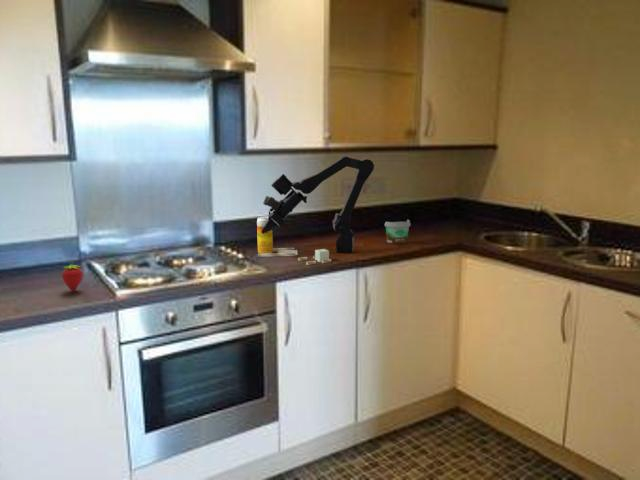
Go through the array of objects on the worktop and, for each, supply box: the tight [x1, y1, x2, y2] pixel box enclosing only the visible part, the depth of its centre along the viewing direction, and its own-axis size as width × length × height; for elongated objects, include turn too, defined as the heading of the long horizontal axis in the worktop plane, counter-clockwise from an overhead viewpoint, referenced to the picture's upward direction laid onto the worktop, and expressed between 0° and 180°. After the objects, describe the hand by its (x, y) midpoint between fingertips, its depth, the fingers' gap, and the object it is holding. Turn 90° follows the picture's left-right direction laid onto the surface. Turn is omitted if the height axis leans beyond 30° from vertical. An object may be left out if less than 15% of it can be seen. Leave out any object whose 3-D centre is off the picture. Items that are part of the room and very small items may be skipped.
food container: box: [384, 219, 411, 245], centre depth 243 cm, size 12×6×10 cm, turn 114°
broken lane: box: [297, 255, 332, 266], centre depth 212 cm, size 10×8×1 cm
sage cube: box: [314, 248, 330, 263], centre depth 213 cm, size 4×4×4 cm
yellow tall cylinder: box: [256, 215, 274, 254], centre depth 224 cm, size 6×6×15 cm
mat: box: [277, 249, 299, 256], centre depth 226 cm, size 8×8×1 cm
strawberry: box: [61, 262, 84, 293], centre depth 173 cm, size 6×8×10 cm
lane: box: [257, 247, 296, 258], centre depth 226 cm, size 15×11×1 cm
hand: (262, 230), depth 224 cm, fingers open, 9 cm apart
